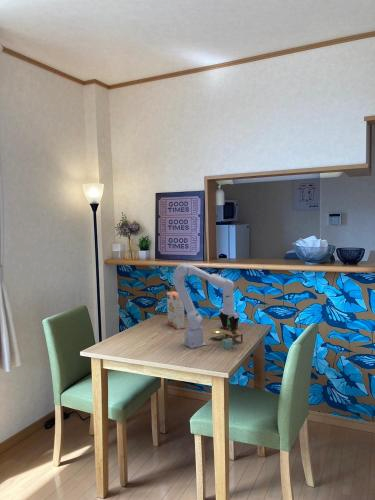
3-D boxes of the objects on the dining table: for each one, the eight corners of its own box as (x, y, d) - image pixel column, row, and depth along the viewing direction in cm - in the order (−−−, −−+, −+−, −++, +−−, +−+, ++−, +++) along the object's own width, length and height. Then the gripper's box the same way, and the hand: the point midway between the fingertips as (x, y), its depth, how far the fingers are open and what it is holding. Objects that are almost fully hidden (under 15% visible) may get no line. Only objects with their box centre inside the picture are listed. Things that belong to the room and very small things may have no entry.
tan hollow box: (233, 344, 216) (232, 331, 216) (225, 341, 222) (225, 328, 221) (242, 342, 220) (242, 329, 219) (235, 339, 225) (234, 326, 225)
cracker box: (167, 324, 261) (166, 291, 259) (176, 323, 263) (175, 290, 261) (176, 329, 248) (175, 295, 246) (185, 328, 251) (184, 294, 249)
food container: (217, 329, 246) (216, 313, 245) (221, 326, 251) (220, 310, 250) (236, 331, 240) (235, 315, 239) (240, 328, 245) (239, 312, 244)
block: (226, 349, 210) (226, 341, 210) (221, 347, 214) (221, 339, 213) (232, 347, 212) (232, 340, 212) (228, 345, 216) (228, 338, 215)
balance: (215, 342, 222) (214, 333, 222) (207, 338, 229) (207, 330, 229) (242, 336, 231) (242, 328, 230) (234, 332, 238) (233, 325, 237)
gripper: (243, 304, 209) (243, 330, 210) (226, 299, 222) (227, 324, 223) (231, 306, 206) (232, 333, 207) (215, 301, 218) (216, 326, 219)
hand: (228, 328), depth 215 cm, fingers open, 7 cm apart
